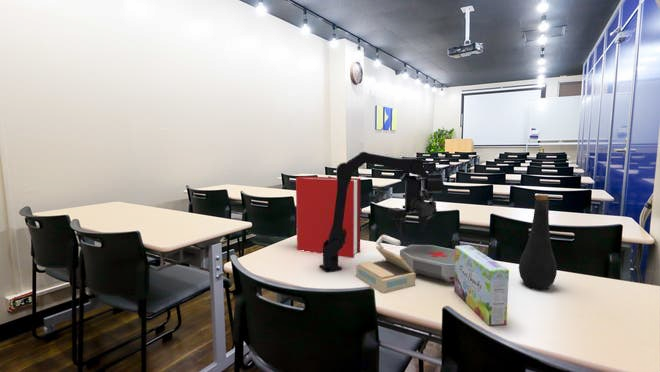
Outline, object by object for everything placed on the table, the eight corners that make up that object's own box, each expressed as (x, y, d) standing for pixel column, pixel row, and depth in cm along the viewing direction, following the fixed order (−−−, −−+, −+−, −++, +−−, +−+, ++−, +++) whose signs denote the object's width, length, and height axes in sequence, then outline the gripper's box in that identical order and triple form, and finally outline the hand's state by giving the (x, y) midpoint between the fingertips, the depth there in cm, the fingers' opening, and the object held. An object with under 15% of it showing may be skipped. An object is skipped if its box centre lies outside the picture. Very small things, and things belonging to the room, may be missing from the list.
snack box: (452, 291, 110) (453, 245, 108) (469, 290, 110) (471, 244, 108) (487, 326, 89) (490, 269, 87) (508, 325, 89) (511, 269, 87)
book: (360, 252, 149) (360, 178, 145) (353, 257, 142) (353, 180, 138) (304, 245, 160) (303, 176, 156) (295, 250, 153) (294, 177, 149)
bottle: (523, 276, 121) (529, 191, 117) (559, 285, 113) (566, 195, 110) (513, 285, 113) (518, 195, 110) (550, 295, 106) (557, 198, 102)
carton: (355, 276, 122) (355, 263, 122) (386, 269, 128) (386, 257, 128) (382, 293, 108) (383, 278, 108) (415, 285, 114) (415, 271, 114)
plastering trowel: (369, 241, 122) (378, 231, 124) (386, 260, 127) (394, 250, 128) (394, 252, 110) (403, 240, 111) (412, 273, 114) (420, 261, 116)
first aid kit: (393, 273, 125) (463, 291, 109) (394, 253, 124) (464, 268, 108) (415, 260, 139) (480, 275, 123) (416, 242, 138) (481, 255, 122)
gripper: (407, 197, 115) (406, 243, 117) (448, 193, 124) (447, 236, 126) (387, 193, 125) (386, 235, 127) (426, 189, 134) (425, 229, 135)
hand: (412, 234), depth 129 cm, fingers open, 9 cm apart
